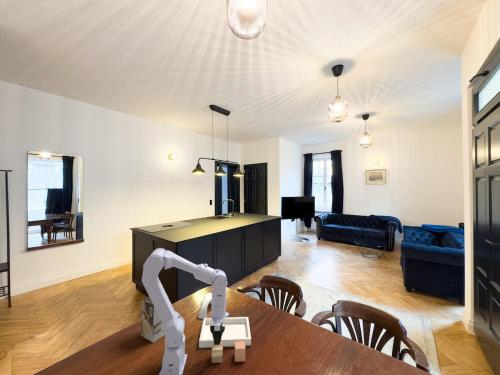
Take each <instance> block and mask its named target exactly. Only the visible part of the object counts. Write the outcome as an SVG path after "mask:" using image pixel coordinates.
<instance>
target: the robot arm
mask: <svg viewBox="0 0 500 375" xmlns="http://www.w3.org/2000/svg"><path fill="white" fill-rule="evenodd" d="M142 267H143V269H142V276H141V283H142V285H143V286H144V289H145V290H146V293H147V295H148V297H150V299H151V301H152V303H153V305H154V307H155V309H156V311H157V313H158V315H159V317H160V319H161V321H162V323H163V333H164V354H163V356H162V361H161V362H162V366H161V368H160V369H161V370H160V372H159V374H158V375H183V374H184V368H185V365H186V361H187V358H188V354H187V353H185V352H186V351H185V350H186V335H185V334H184V331H185V327H186V321H185V319H184V318H183V317H182V316H181V315H180V313H179V312H177V311H175V309H174V307H173V305H172V302H171V301H170V299H169V296H168V295H167V293H166V291H165V288H164V287H163V284H162V283H161V280H160V279H159V274H160V272H161V271H162V269H163V268H164V270H168V269H170V268H173V267H174V268H177V269H180V270H183V271H184V272H188V273H190V274H192V275H193V276H194V279H196V280H197V281H198V280H199V281H201V282H203V283H204V284H208V285H211V286H212V291H211V292H212V305H211V304H210V305H211V306H210V307H211V310H210V311H211V312H210V318H211V319H212V321H213V323H214V325H210V332H211V333H212V336H213V341H214V345H220V343H221V338H222V334H223V332H224V330H225V326H222V323H223V320H224V319H225V318H228V317H229V315H230V314H229V312H227V311H226V310H227V286H228V284H229V282H228V279H227V274H226V273H225V271H224V270H222V269H217V268H216V269H214V268H212V267H210V266H208V264H207V263H200V264H196V263H194V262H192V261H189V260H188V259H185V258H183V257H182V256H179V255H178V254H176V253H174V252H172V251H170V250H167V249H165V248H163V247H157V248H156V249H154V250H152V252H151V254H150V255H149V256H148V257H147V259H146V260H145V262H144V263H143V265H142Z"/></svg>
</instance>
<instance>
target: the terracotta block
mask: <svg viewBox="0 0 500 375" xmlns="http://www.w3.org/2000/svg"><path fill="white" fill-rule="evenodd" d="M234 362H238V363H239V362H246V346H245V341H240V342H235V347H234Z"/></svg>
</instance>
